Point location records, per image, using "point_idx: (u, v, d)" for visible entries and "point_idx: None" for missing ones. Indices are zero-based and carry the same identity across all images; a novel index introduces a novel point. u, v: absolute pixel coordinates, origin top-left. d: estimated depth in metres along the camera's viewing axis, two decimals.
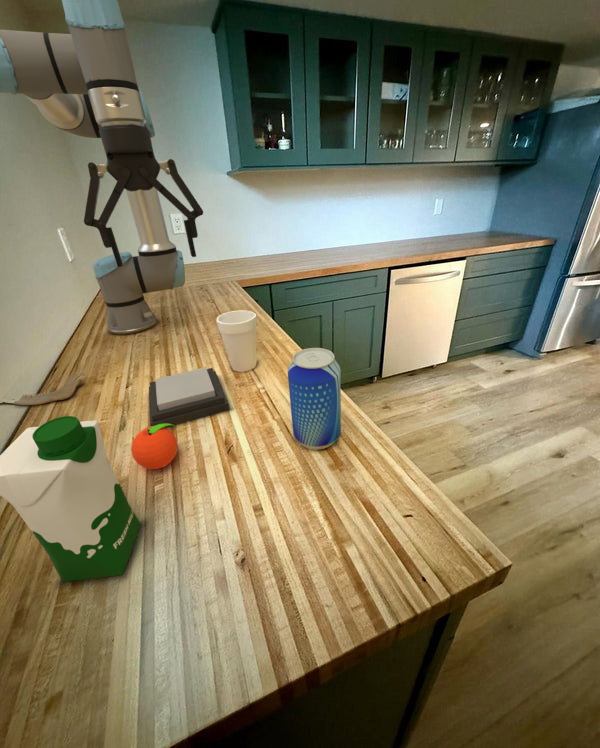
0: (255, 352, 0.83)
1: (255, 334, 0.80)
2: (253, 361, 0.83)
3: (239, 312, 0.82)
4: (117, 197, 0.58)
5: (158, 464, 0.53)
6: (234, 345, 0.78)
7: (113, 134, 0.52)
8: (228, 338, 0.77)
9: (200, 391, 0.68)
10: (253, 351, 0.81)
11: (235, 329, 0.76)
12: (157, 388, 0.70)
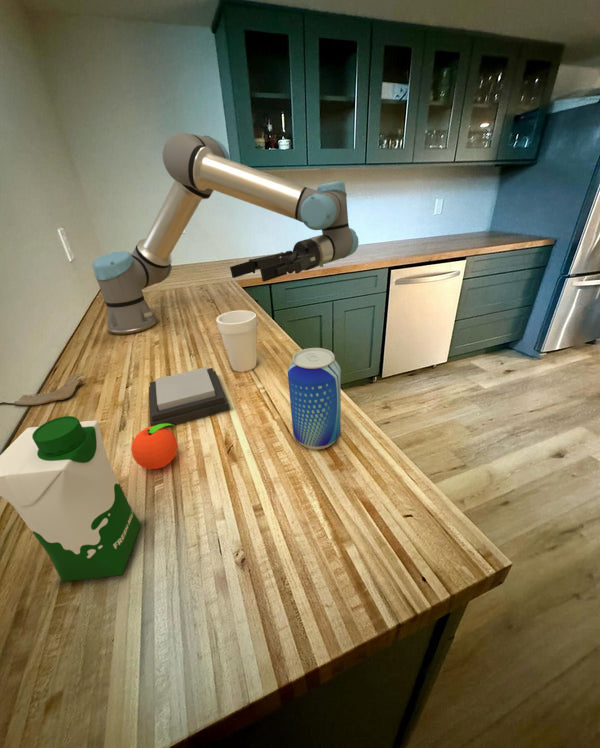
0: (255, 352, 0.83)
1: (255, 334, 0.80)
2: (253, 361, 0.83)
3: (239, 312, 0.82)
4: None
5: (158, 464, 0.53)
6: (234, 345, 0.78)
7: (314, 267, 0.90)
8: (228, 338, 0.77)
9: (200, 391, 0.68)
10: (253, 351, 0.81)
11: (235, 329, 0.76)
12: (157, 388, 0.70)
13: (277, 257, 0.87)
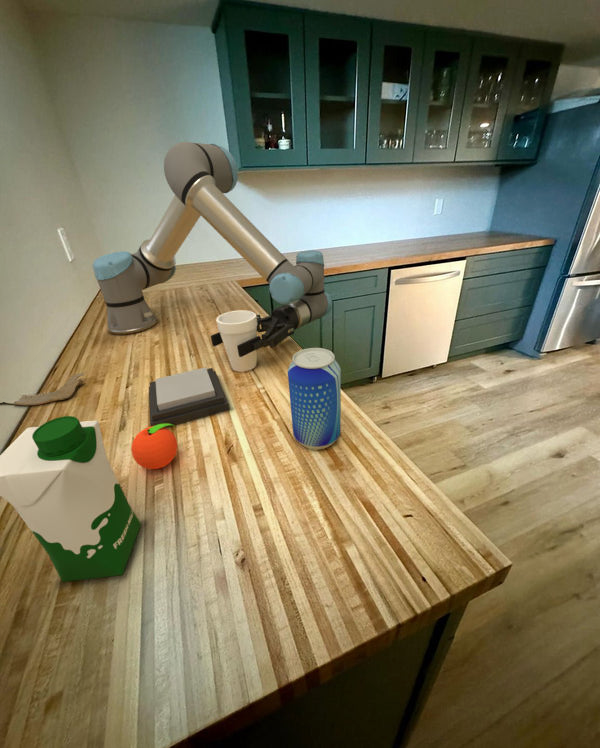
0: (255, 352, 0.83)
1: (255, 334, 0.80)
2: (253, 361, 0.83)
3: (239, 312, 0.82)
4: None
5: (158, 464, 0.53)
6: (234, 345, 0.78)
7: None
8: (228, 338, 0.77)
9: (200, 391, 0.68)
10: (253, 351, 0.81)
11: (235, 329, 0.76)
12: (157, 388, 0.70)
13: (258, 323, 0.88)
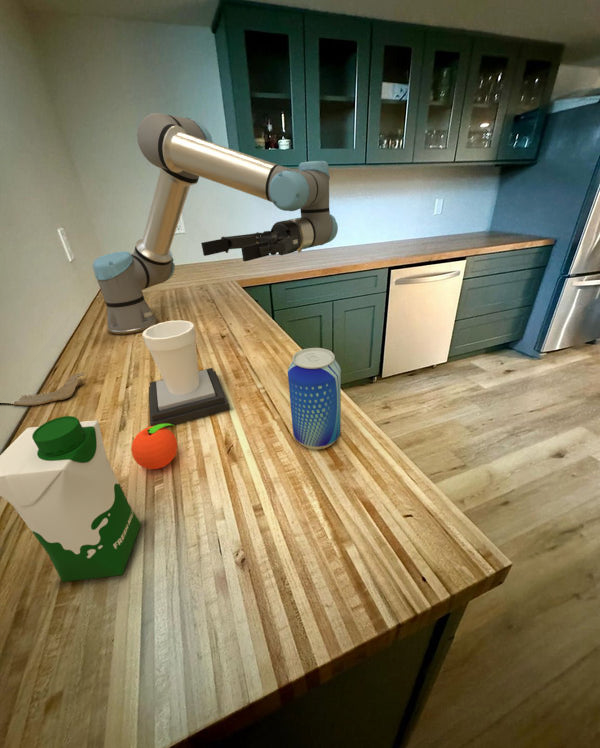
0: (195, 371, 0.68)
1: (193, 350, 0.66)
2: (193, 382, 0.68)
3: (176, 323, 0.68)
4: None
5: (158, 464, 0.53)
6: (165, 364, 0.64)
7: (293, 251, 0.83)
8: (157, 355, 0.63)
9: (201, 394, 0.68)
10: (192, 370, 0.67)
11: (163, 345, 0.61)
12: (157, 390, 0.70)
13: (254, 237, 0.79)
